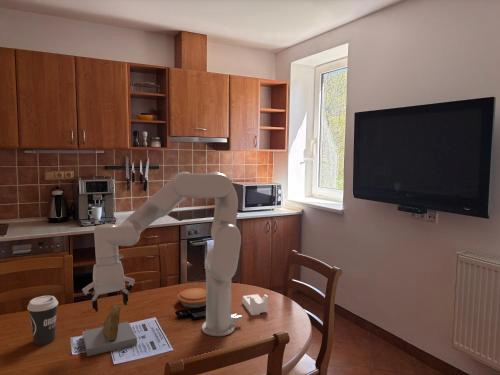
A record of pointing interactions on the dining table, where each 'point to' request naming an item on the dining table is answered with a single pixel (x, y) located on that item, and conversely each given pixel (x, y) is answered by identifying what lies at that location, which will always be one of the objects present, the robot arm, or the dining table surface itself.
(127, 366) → the dining table surface
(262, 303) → the bracket
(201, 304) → the pie
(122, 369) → the dining table surface
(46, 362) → the dining table surface
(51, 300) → the coffee cup
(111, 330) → the rock
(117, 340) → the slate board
